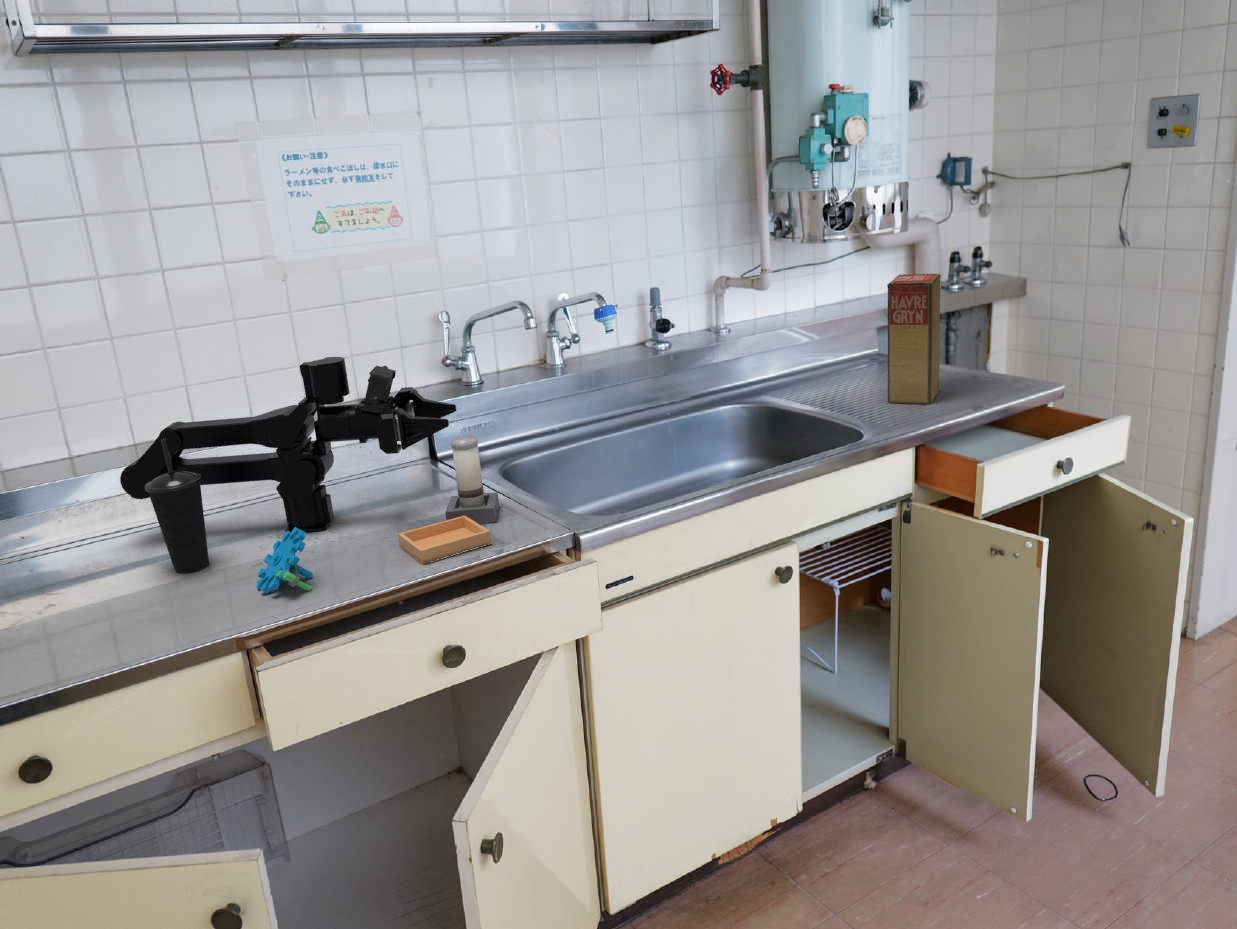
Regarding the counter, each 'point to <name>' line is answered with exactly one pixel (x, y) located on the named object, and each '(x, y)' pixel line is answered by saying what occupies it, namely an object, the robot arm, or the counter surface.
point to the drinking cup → (180, 516)
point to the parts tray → (443, 539)
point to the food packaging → (913, 338)
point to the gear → (284, 563)
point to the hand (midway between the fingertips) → (452, 415)
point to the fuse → (468, 471)
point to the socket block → (475, 509)
